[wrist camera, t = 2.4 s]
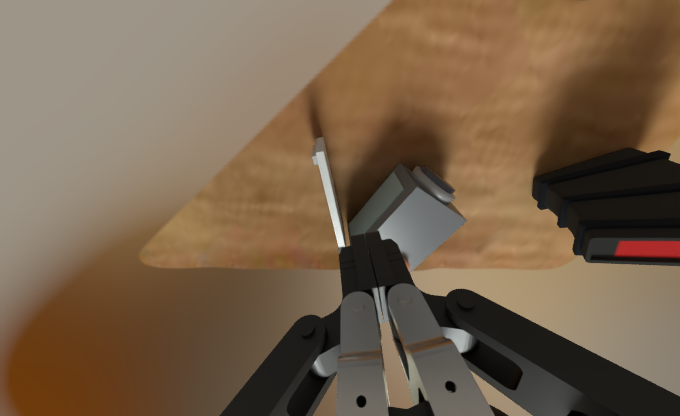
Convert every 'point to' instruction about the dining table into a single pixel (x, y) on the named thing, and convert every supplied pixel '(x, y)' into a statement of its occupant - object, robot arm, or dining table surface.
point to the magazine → (618, 207)
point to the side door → (329, 189)
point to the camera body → (410, 213)
